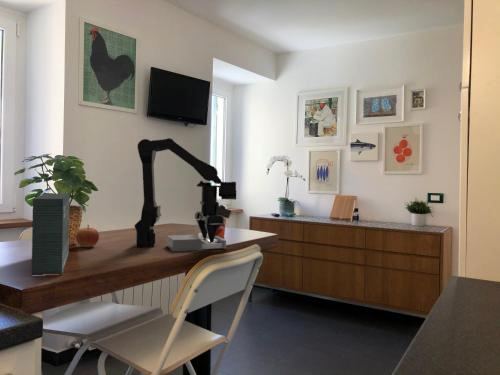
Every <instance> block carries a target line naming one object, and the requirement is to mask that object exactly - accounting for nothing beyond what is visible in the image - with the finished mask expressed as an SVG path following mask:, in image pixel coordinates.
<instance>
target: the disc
mask: <svg viewBox="0 0 500 375" xmlns="http://www.w3.org/2000/svg"><path fill="white" fill-rule="evenodd" d="M201 240H202V244H212V243H218V240H216V239H215V238H214V241H213V242H210V240H209V239H201Z"/></svg>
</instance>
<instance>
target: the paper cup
mask: <svg viewBox="0 0 500 375" xmlns="http://www.w3.org/2000/svg"><path fill="white" fill-rule="evenodd" d="M220 205H221V204H219V206H220ZM223 206H225V209H228V207H227V205H226V204H225V205H224V204H223ZM221 216H222V215H221ZM222 217H223V216H222ZM223 218H224V223H223V224H222V225H221V226H220V227H218V228H217V231H216V234H215V236H218V237H220V238H222V239H224V238H225V235H226V222H227V221H226V220H227V218H225V217H223Z"/></svg>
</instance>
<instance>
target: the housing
mask: <svg viewBox="0 0 500 375" xmlns="http://www.w3.org/2000/svg"><path fill="white" fill-rule="evenodd" d="M166 246H167V248H169V249H170V250H171V251H172V252H185V251H189V250H191V251H202V250H203V249H202V240H201V239H200V238H199V236H197V235H195V234H175V235H174V234H173V235H171V234H170V235H169V234H167V236H166ZM189 252H190V251H189Z"/></svg>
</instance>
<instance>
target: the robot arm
mask: <svg viewBox="0 0 500 375" xmlns="http://www.w3.org/2000/svg"><path fill="white" fill-rule="evenodd" d="M167 150H168V151H170V152H172V153H173V154H175V156H177V157H179V158H180V159H181V160H182V161H184V162H185V163H187V164H189V166H191V167H192V168H193V169H194V170H195V171H196V173H198V174H199V175H200V176H201V177H202V179H204V180H205V181H207V182H204V181H203V180H200V181H199V182H198V183H197V185H196V187H199V188H200V187H201V200H200V201H199V203H200V206H201V207H200V208H201V209H200V211H196V212H195V213H194V219H195V221H196V224H197V226H198V229H199V231H200V233H201V234H202V236H203V238H206V237H207V234H208V237H209V240H210V242H213V241H214V239H215V234H216V231H217V228H218V227H220V226H221V225H222V224H223V223H224V218H223V217H225V218H226V219H229V218H230V216H231V213H232V210H230V209H228V208H227V209H225V206H223V205H224V204H223V205H222V204H220V203H219V201H218V200H217V199H218V197H220V199H221V200H232V201H234V200H237V181H222V179H221V178H220V177H219V176H218V174H219V173H218V170H217V168H216V167H215V166H213V165H212V164H209V163H207V162H204V161H203V160H201V159H199V158H197V157H196V156H195V155H193V153H191V152H189V151H188V150H186V148H184V147H182V146H181V145H180V144H179V143H177V142H176V141H175V140H174V139H173V138H170V137H169V138H164V139H153V140H150V139H148V138H144V139H141V140H140V141H139V142H138V144H137V151H138V155H139V156H138V157H139V160H140V162H141V164H142V166H141V167H142V187H143V188H142V189H143V205H142V208H141V214H140V220H138V221H137V222H136V223H135V224H134V228H135V243H134V246H135V247H136V248H145V247H146V248H147V247H151V248H152V247H155V244H156V233H155V229H154V227H155V225H156V224H157V223H158V222H159V221H160V218H161V217H162V213H161V209H162V208H161V206H162V205H157V202H156V188H155V187H156V186H155V168H154V167H155V166H154V165H155V159H156V155H157V153H158V152H164V151H167ZM212 182H213V183H214V185H212ZM215 184H216V185H215ZM219 205H220V206H219ZM221 215H222V216H223V217H222V216H221Z"/></svg>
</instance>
